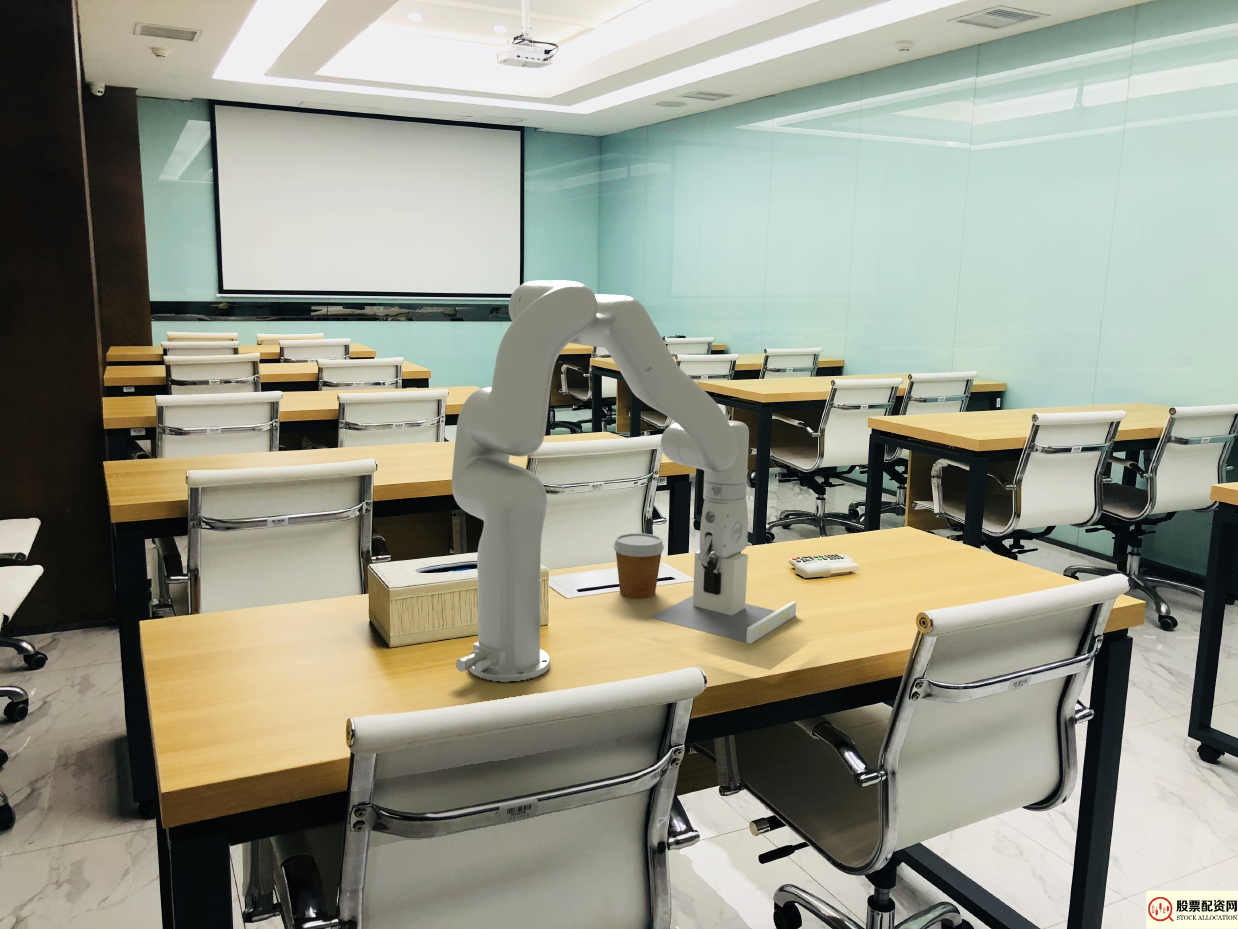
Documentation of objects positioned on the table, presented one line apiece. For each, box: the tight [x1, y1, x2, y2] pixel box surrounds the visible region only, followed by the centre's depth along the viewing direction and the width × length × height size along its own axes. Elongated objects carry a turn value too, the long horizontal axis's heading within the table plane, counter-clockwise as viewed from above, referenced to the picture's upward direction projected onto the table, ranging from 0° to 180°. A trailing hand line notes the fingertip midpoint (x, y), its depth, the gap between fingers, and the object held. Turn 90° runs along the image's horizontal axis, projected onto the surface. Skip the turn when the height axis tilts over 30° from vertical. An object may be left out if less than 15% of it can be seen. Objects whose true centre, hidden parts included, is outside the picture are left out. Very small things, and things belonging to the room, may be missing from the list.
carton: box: [692, 550, 749, 615], centre depth 167 cm, size 5×8×10 cm
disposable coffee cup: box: [612, 532, 665, 600], centre depth 174 cm, size 10×10×12 cm
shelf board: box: [649, 595, 797, 645], centre depth 163 cm, size 17×20×4 cm
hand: (720, 587), depth 167 cm, fingers closed on carton, 5 cm apart
